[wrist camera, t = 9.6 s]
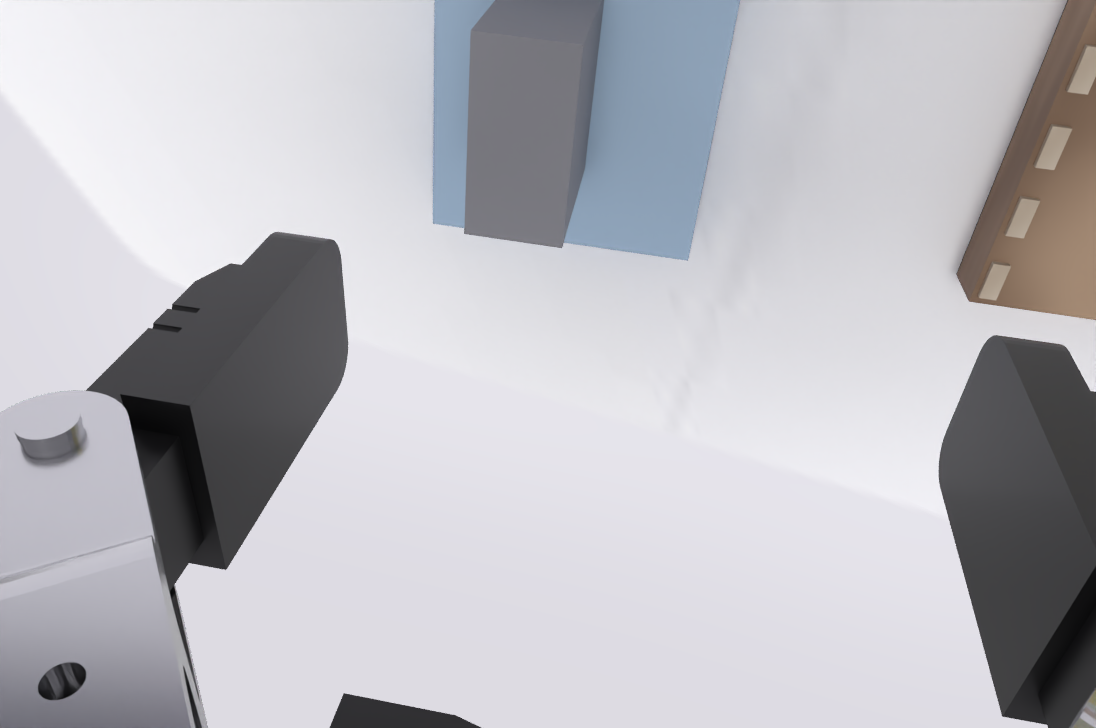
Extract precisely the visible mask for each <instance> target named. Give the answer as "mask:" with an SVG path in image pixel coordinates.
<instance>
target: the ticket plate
mask: <svg viewBox="0 0 1096 728" xmlns="http://www.w3.org/2000/svg"><path fill="white" fill-rule="evenodd" d="M957 276H958V279H959V281H960V283H961V285H962V287H963V290H964V292H965V294H966V296H967V298H968V300H969V301H970V302H976V303H983V304H990V305H997V306H1004V307H1011V308H1018V309H1025V310H1031V311H1038V312H1045V313H1052V314H1059V315H1066V316H1073V317H1080V318H1086V319H1093V320H1096V0H1068V2H1067V4H1066V7H1065V9H1064V12H1063V14H1062V17H1061V19H1060V21H1059V24H1058V26H1057V29H1056V31H1055V34H1054V36H1053V39H1052V41H1051V44H1050V46H1049V48H1048V51H1047V53H1046V56H1045V58H1044V61H1043V63H1042V66H1041V68H1040V71H1039V73H1038V76H1037V78H1036V80H1035V83H1034V85H1033V88H1032V90H1031V93H1030V95H1029V98H1028V100H1027V103H1026V105H1025V107H1024V110H1023V112H1022V115H1021V117H1020V120H1019V122H1018V125H1017V127H1016V130H1015V132H1014V135H1013V137H1012V139H1011V142H1010V144H1009V147H1008V149H1007V152H1006V154H1005V157H1004V159H1003V162H1002V164H1001V167H1000V169H999V171H998V174H997V176H996V179H995V181H994V184H993V186H992V189H991V191H990V194H989V196H988V198H987V201H986V203H985V206H984V208H983V211H982V213H981V216H980V218H979V221H978V223H977V226H976V228H975V230H974V233H973V235H972V238H971V240H970V243H969V245H968V248H967V250H966V253H965V255H964V257H963V260H962V262H961V265H960V267H959V270H958V272H957Z"/></svg>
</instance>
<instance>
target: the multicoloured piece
mask: <svg viewBox="0 0 1096 728" xmlns="http://www.w3.org/2000/svg"><path fill="white" fill-rule="evenodd" d="M739 3H740V0H435V28H434V153H433V224H440V225H447V226H454V227H461V228H464V234H469V235H476V236H483V237H490V238H497V239H504V240H510V241H517V242H524V243H531V244H538V245H545V246H551V247H558V248H562V246H563V243H571V244H578V245H585V246H592V247H598V248H605V249H612V250H619V251H626V252H633V253H640V254H646V255H653V256H660V257H667V258H674V259H681V260H688V258H689V253H690V248H691V243H692V238H693V233H694V228H695V223H696V218H697V213H698V208H699V203H700V198H701V193H702V188H703V183H704V178H705V173H706V168H707V163H708V158H709V153H710V148H711V143H712V138H713V133H714V128H715V123H716V118H717V113H718V108H719V103H720V98H721V93H722V88H723V83H724V78H725V73H726V68H727V63H728V58H729V53H730V48H731V43H732V38H733V33H734V28H735V23H736V18H737V13H738V8H739Z"/></svg>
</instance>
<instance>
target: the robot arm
mask: <svg viewBox="0 0 1096 728" xmlns="http://www.w3.org/2000/svg"><path fill="white" fill-rule="evenodd" d="M347 354H348V335H347V323H346V311H345V300H344V288H343V276H342V264H341V255H340V251H339V248H338V245H337V244H336V242H335V241H334V240H331V239H325V238H318V237H311V236H303V235H296V234H289V233H282V232H275V233H272V234H271V235H270V236H269V237H268V238H267V239H266V240H265V241H264V242H263V243H262V244H261V245H260V246H259V247H258V248H257V250H256V251H255V252H254V253H253V254H252V255H251V256H250V257H249V258H248V259H247V260H246V261H245V262H244V263H243V264H242V265H237V264H229V265H227V266H225V267H223V268H221V269H219V270H217V271H215V272H213V273H211V274H209V275H207V276H205V277H203V278H201V279H199V280H197V281H195V282H194V283H193V284H192V285H191V286H190V287H189V288H188V289H187V290H186V291H185V292H184V293H183V294H182V295H181V296H180V297H179V298H178V299H177V300H176V301H175V302H174V303H173V304H172V309H167V310H166V311H165V312H164V313H163V314H162V315H161V316H160V317H159V318H158V319H157V320H156V321H155V322H154V324H153V329H151V328H148V329H147V330H146V331H145V332H144V333H143V334H142V335H141V336H140V337H139V338H138V339H137V340H136V341H135V342H134V343H133V344H132V345H131V346H130V347H129V348H128V349H127V350H126V351H125V352H124V353H123V354H122V355H121V356H120V357H119V358H118V359H117V360H116V361H115V362H114V363H113V364H112V365H111V366H110V367H109V368H108V369H107V370H106V371H105V372H104V373H103V374H102V375H101V376H100V377H99V378H98V379H97V380H96V381H95V382H94V383H93V384H92V385H91V386H90V387H89V388H88V389H87V390H86V391H76V390H73V391H60V392H55V393H48V394H44V395H40V396H36V397H33V398H30V399H27V400H24V401H22V402H19V403H17V404H15V405H13V406H11V407H9V408H7V409H5V410H4V411H2V412H0V728H208V726H207V721H206V717H205V713H204V708H203V704H202V699H201V695H200V690H199V686H198V682H197V677H196V673H195V668H194V664H193V659H192V655H191V651H190V646H189V642H188V637H187V633H186V628H185V624H184V620H183V616H182V611H181V607H180V602H179V598H178V594H177V590H176V587H175V583H176V581H177V580H178V578H179V577H180V575H181V574H182V572H183V571H184V569H185V568H186V566H187V565H188V563H192V564H198V565H203V566H209V567H214V568H219V569H225V570H226V569H227V568H228V566H229V564H230V563H231V561H232V560H233V558H234V556H235V555H236V553H237V552H238V550H239V548H240V547H241V545H242V543H243V542H244V540H245V538H246V537H247V535H248V533H249V532H250V530H251V529H252V527H253V526H254V524H255V522H256V521H257V519H258V517H259V516H260V514H261V513H262V511H263V509H264V507H265V506H266V504H267V503H268V501H269V500H270V498H271V496H272V495H273V493H274V491H275V490H276V488H277V487H278V485H279V483H280V482H281V480H282V479H283V477H284V475H285V474H286V472H287V470H288V469H289V467H290V466H291V464H292V462H293V461H294V459H295V457H296V456H297V454H298V452H299V451H300V449H301V448H302V446H303V445H304V443H305V441H306V439H307V438H308V436H309V435H310V433H311V431H312V430H313V428H314V427H315V425H316V423H317V422H318V420H319V418H320V417H321V415H322V414H323V412H324V410H325V409H326V407H327V406H328V404H329V402H330V401H331V399H332V397H333V396H334V394H335V393H336V391H337V389H338V387H339V386H340V383H341V381H342V378H343V375H344V371H345V367H346V362H347ZM939 483H940V488H941V492H942V495H943V499H944V503H945V506H946V510H947V514H948V517H949V521H950V525H951V529H952V532H953V536H954V539H955V543H956V547H957V551H958V554H959V558H960V562H961V565H962V569H963V573H964V577H965V580H966V584H967V588H968V591H969V595H970V599H971V602H972V606H973V610H974V613H975V617H976V621H977V624H978V628H979V632H980V636H981V639H982V643H983V647H984V650H985V654H986V658H987V661H988V665H989V669H990V673H991V676H992V680H993V684H994V687H995V691H996V695H997V698H998V702H999V705H1000V710H1001V713H1002V716H1003V717H1009V718H1014V719H1019V720H1025V721H1030V722H1036V723H1041V724H1047V725H1048V728H1096V392H1092V391H1090V389H1089V388H1088V386H1087V384H1086V382H1085V380H1084V378H1083V377H1082V375H1081V373H1080V371H1079V369H1078V367H1077V365H1076V364H1075V362H1074V360H1073V358H1072V356H1071V354H1070V352H1069V351H1068V349H1067V348H1066V347H1065V346H1063V345H1060V344H1054V343H1047V342H1040V341H1033V340H1026V339H1019V338H1012V337H1005V336H998V335H996V336H992V337H991V338H989V339H988V340H987V341H986V343H985V344H984V346H983V347H982V349H981V351H980V353H979V356H978V358H977V360H976V363H975V365H974V367H973V370H972V372H971V374H970V377H969V379H968V382H967V384H966V386H965V389H964V391H963V393H962V396H961V398H960V401H959V403H958V405H957V408H956V410H955V412H954V415H953V417H952V419H951V422H950V424H949V427H948V429H947V431H946V434H945V437H944V440H943V443H942V447H941V452H940V459H939ZM330 728H481V727H479V726H476V725H474V724H472V723H470V722H468V721H466V720H464V719H462V718H460V717H458V716H456V715H450V714H445V713H441V712H436V711H430V710H425V709H420V708H415V707H410V706H405V705H400V704H395V703H389V702H385V701H380V700H374V699H370V698H365V697H360V696H354V695H349V694H343V697H342V699H341V702H340V704H339V706H338V709H337V711H336V714H335V716H334V719H333V721H332V723H331V726H330Z"/></svg>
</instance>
